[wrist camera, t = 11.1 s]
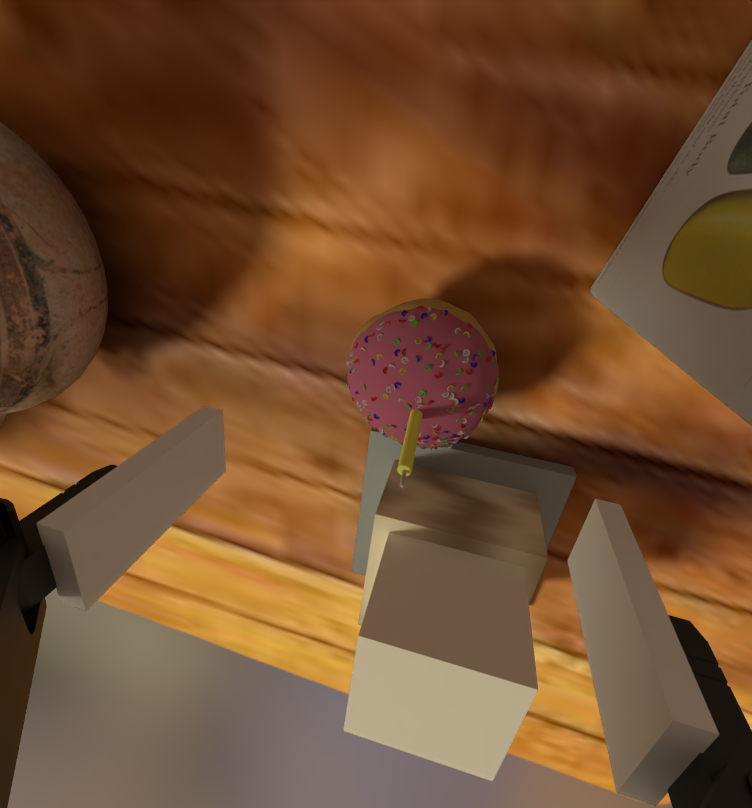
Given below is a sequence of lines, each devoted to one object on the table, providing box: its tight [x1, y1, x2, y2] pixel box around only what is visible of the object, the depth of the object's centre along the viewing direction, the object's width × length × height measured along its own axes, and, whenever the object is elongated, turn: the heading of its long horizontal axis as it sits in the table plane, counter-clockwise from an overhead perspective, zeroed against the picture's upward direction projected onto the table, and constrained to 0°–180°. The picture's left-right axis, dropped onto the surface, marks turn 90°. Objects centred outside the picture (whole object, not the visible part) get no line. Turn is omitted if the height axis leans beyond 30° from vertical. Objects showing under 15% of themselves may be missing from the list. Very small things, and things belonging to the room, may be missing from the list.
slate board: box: [352, 427, 577, 575], centre depth 33 cm, size 14×14×1 cm
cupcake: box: [346, 299, 499, 488], centre depth 23 cm, size 9×8×12 cm
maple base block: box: [358, 461, 548, 625], centre depth 29 cm, size 10×10×6 cm
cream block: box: [343, 532, 538, 781], centre depth 24 cm, size 8×8×7 cm
